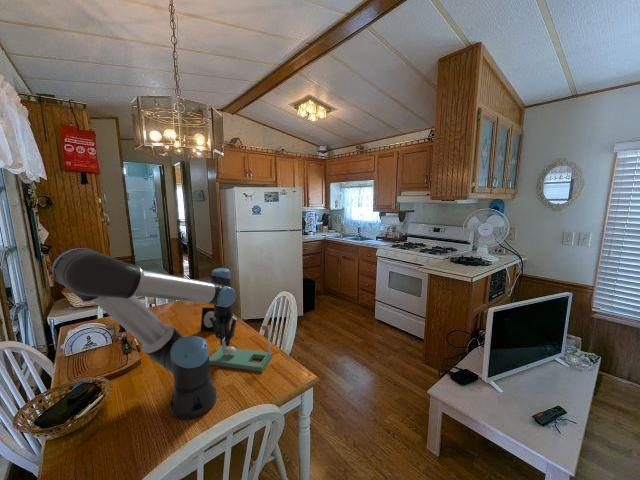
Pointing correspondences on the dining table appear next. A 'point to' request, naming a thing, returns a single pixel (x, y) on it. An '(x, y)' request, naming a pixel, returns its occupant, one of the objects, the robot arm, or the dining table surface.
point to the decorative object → (207, 319)
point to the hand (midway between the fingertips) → (225, 351)
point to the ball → (231, 351)
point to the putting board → (243, 357)
